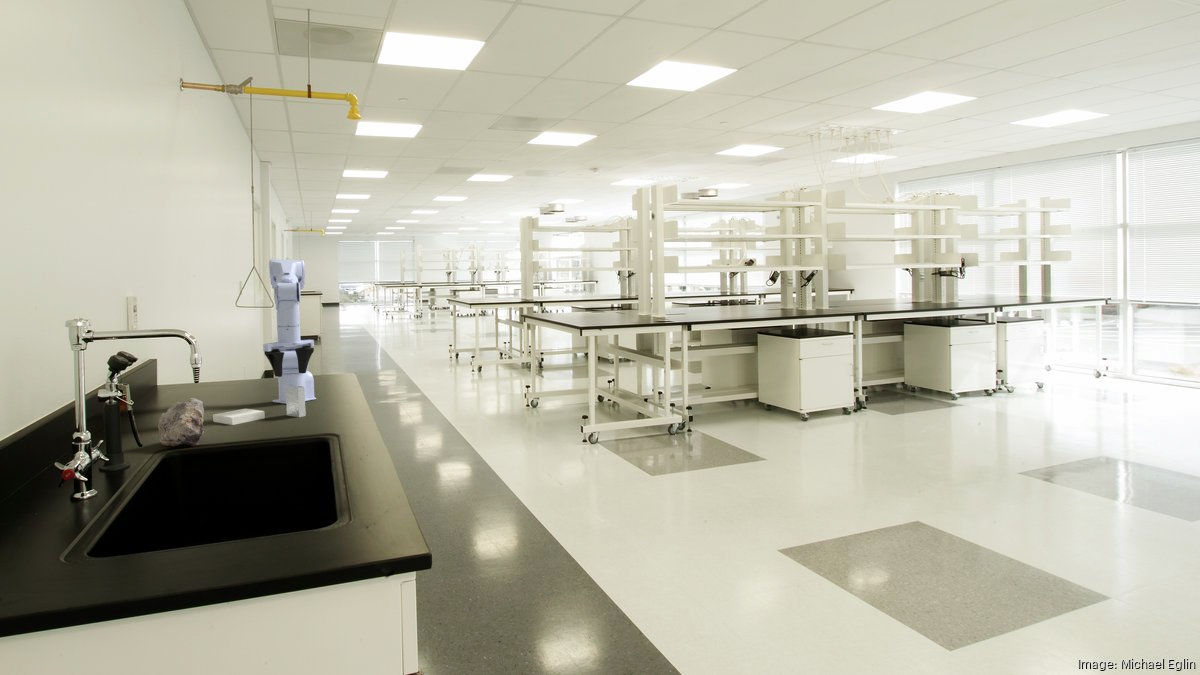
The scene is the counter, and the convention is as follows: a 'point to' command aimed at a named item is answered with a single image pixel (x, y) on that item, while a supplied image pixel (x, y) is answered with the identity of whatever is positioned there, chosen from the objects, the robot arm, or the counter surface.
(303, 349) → the robot arm
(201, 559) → the counter surface
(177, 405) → the rock
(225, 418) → the tile
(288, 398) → the pale grey upright block
